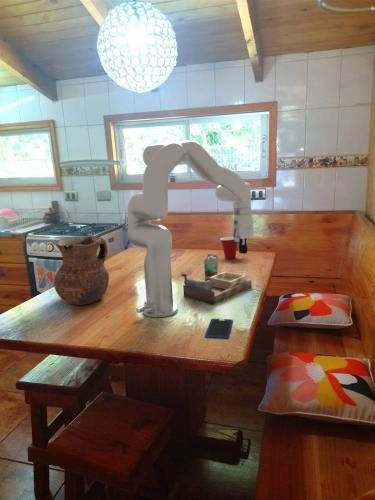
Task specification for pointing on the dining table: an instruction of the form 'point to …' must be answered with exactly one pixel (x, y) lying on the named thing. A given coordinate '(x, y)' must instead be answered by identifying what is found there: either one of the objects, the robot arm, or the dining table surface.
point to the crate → (227, 280)
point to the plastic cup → (229, 247)
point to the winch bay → (214, 293)
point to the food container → (211, 266)
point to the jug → (82, 270)
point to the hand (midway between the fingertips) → (243, 252)
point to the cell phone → (219, 328)
